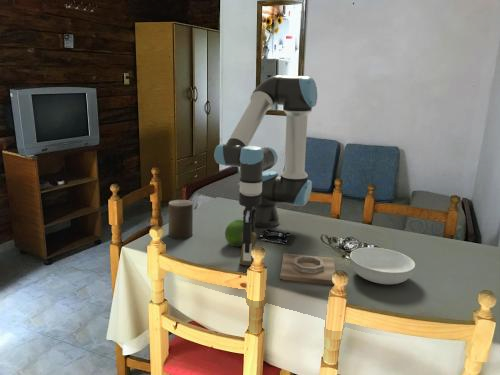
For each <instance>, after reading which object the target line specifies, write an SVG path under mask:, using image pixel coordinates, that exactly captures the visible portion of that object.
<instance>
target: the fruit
mask: <svg viewBox="0 0 500 375" xmlns="http://www.w3.org/2000/svg"><path fill="white" fill-rule="evenodd" d="M242 233H243V219H234V220H233V221H231V222H230V223H229V224H228V225H227V226H226V228H225V231H224V234H225V235H224V236H225V241H227V243H228V245H230V246H232V247H237V248H239V247H240V248H241V247H242V244H243V243H241V242H242V238H241V236H242Z"/></svg>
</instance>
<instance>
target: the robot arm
mask: <svg viewBox="0 0 500 375" xmlns="http://www.w3.org/2000/svg"><path fill="white" fill-rule="evenodd" d="M317 101H318V87H317V83H316V81H315V79H314V78H312V77H310V76H306V75H305V76H304V75H281V74H279V75H273V76H270V77H268V78H267V79H266V78H265V80H264V81H262V82H261V83H260V84H258V85H257V86H256V88H255V89H253V92H251V95H250V101H249V104H248V105H247V107H246V109H245V110H244V112H243V113H242V116H241V117H240V119H239V121H238V122H237V125H236V126H235V127H234V129H233V131H232V133H231V135H230V137H229V139H228V140H227V141H226V143H220V144H218V145H217V146H216V147H215V149H214V152H213V153H214V154H213V157H214V161H215V163H217V164H218V165H221V166H226V167H228V166H229V167H237V168H239V182H238V183H237V186H239V192H240V193H239V194H238V196H239V197H238V203H239V205H240V206H242V207H244V210H243V212H242V213H243V214H242V215H243V217H242V220H243V241H242V242H241V243H243V244H244V247H243V261H251V250H252V243H251V237H252V232H254V233H255V232H256V227H257V228H272V227H276V226H278V225H279V224H280V214H279V212H278V208H277V203H278V204H284V205H289V206H293V207H296V206H297V207H303V206H305V205H306V204H307V203H308V201H309V199H310V196H311V193H312V187H313V183H312V180H310V179H309V177H308V176H309V175H308V173H307V172H306V170H305V167H306V152H307V150H306V148H307V147H306V146H307V133H308V132H307V131H308V130H307V129H308V115H309V114H310V113H311V112H312V110H313V108H314V107H316V105H317V103H318V102H317ZM274 105H275V106H276V105H280V106H282V110H283V112H284V114H285V115H286V122H285V142H284V143H285V146H284V147H285V148H284V149H285V150H284V151H285V152H284V169H283V171H282V172H281V173H280V175H279V173H278V171H276V170H275V171H274V170H270V169H272V168H273V167H274V166H275V165H277V163H278V154H277V152H276V150H275V149H273V148H272V147H268V146H267V147H265V146H264V147H260V146H254V145H250V143H251V141H252V139H253V138H254V136H255V134H256V132H257V130H258V129H259V127H260V125H261V123H262V121H263V119H264V117H265V115H266V114H267V111H269V110H271V109H272V108H273V106H274ZM255 234H256V235H257V233H255Z"/></svg>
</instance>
